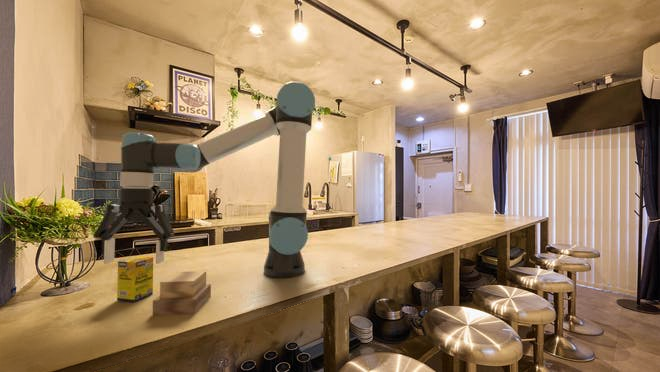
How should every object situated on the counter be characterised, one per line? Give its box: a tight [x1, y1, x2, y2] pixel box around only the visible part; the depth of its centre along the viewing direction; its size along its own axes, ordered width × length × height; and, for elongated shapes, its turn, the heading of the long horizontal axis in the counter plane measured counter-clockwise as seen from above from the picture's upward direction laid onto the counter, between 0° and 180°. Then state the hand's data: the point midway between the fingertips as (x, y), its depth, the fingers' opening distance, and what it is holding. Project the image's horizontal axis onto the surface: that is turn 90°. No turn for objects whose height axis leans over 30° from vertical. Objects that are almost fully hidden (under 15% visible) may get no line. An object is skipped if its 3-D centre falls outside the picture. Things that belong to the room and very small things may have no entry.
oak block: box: [159, 270, 207, 298], centre depth 68 cm, size 8×8×4 cm
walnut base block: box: [152, 283, 212, 316], centre depth 67 cm, size 10×10×4 cm
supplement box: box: [116, 255, 154, 303], centre depth 72 cm, size 6×6×11 cm
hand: (134, 262), depth 72 cm, fingers open, 13 cm apart
